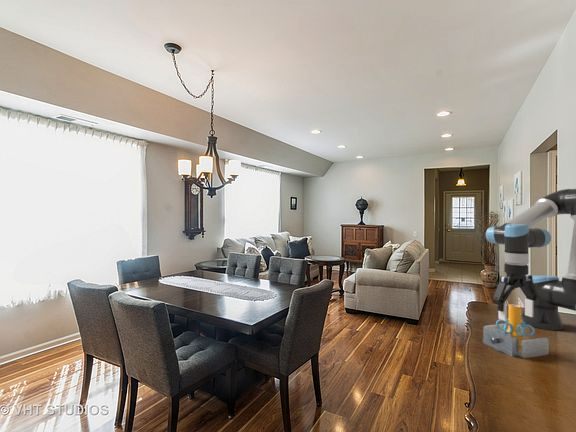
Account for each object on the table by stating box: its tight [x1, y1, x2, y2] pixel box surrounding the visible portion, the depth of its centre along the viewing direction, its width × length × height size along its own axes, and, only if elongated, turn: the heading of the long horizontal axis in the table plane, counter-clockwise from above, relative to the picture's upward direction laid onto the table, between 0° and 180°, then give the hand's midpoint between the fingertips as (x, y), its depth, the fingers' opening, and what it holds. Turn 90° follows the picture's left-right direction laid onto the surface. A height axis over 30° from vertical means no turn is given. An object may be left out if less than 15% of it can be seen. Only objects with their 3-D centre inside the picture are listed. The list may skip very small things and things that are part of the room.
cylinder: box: [495, 303, 536, 347], centre depth 119 cm, size 12×10×15 cm
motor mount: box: [482, 322, 550, 359], centre depth 118 cm, size 17×16×6 cm
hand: (515, 317), depth 119 cm, fingers open, 13 cm apart
